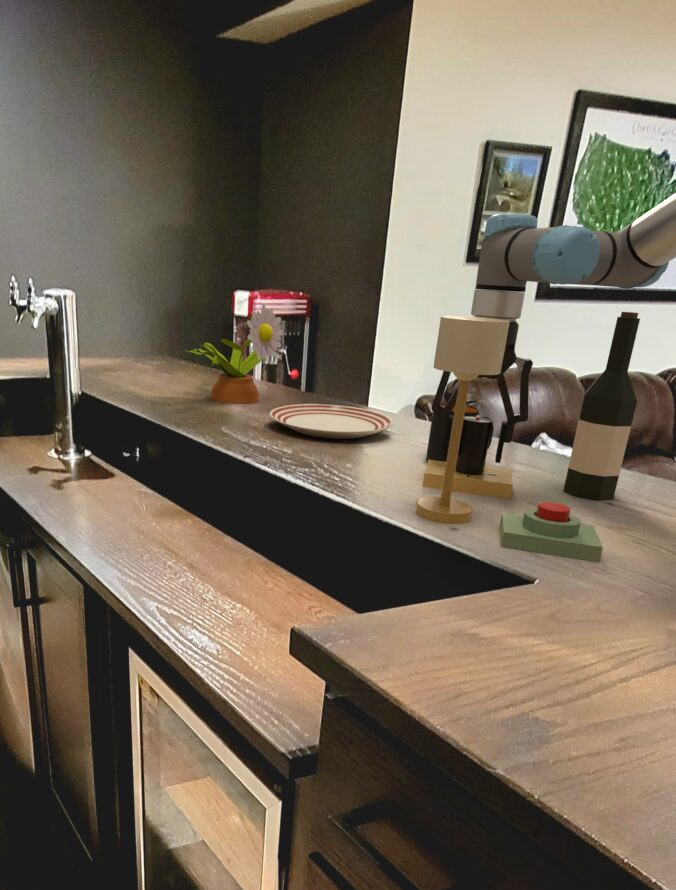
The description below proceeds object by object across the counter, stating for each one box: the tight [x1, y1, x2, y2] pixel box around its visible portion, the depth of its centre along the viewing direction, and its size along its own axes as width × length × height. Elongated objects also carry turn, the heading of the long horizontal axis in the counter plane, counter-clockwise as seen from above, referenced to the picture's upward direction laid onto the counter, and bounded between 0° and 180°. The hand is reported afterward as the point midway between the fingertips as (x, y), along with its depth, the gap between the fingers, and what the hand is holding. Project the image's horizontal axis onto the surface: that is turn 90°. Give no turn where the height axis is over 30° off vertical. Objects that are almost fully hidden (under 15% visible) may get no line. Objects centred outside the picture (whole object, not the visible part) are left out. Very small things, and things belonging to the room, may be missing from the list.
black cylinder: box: [455, 414, 494, 475], centre depth 122 cm, size 5×5×9 cm
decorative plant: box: [184, 303, 284, 404], centre depth 190 cm, size 27×24×25 cm
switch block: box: [498, 507, 604, 563], centre depth 98 cm, size 12×9×4 cm
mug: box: [425, 403, 495, 462], centre depth 138 cm, size 8×12×10 cm
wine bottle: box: [563, 311, 641, 501], centre depth 119 cm, size 8×8×30 cm
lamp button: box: [536, 501, 571, 522], centre depth 97 cm, size 4×4×2 cm
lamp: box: [415, 315, 510, 525], centre depth 103 cm, size 9×9×28 cm
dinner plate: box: [268, 403, 395, 440], centre depth 161 cm, size 27×27×3 cm
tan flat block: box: [422, 460, 514, 500], centre depth 124 cm, size 14×10×3 cm
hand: (471, 457), depth 123 cm, fingers open, 8 cm apart
